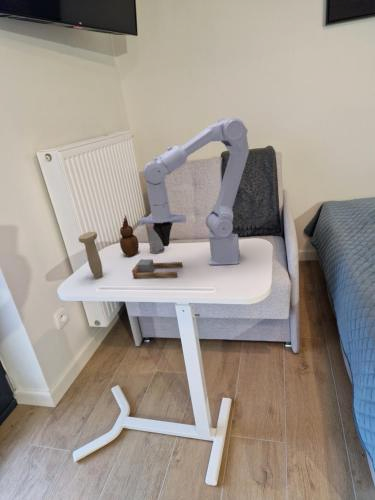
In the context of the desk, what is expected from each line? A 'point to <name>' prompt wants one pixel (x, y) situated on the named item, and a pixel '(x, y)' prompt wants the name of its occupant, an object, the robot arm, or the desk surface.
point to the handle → (92, 253)
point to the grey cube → (146, 266)
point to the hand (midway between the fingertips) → (166, 245)
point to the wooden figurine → (128, 239)
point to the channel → (157, 274)
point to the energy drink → (154, 240)
